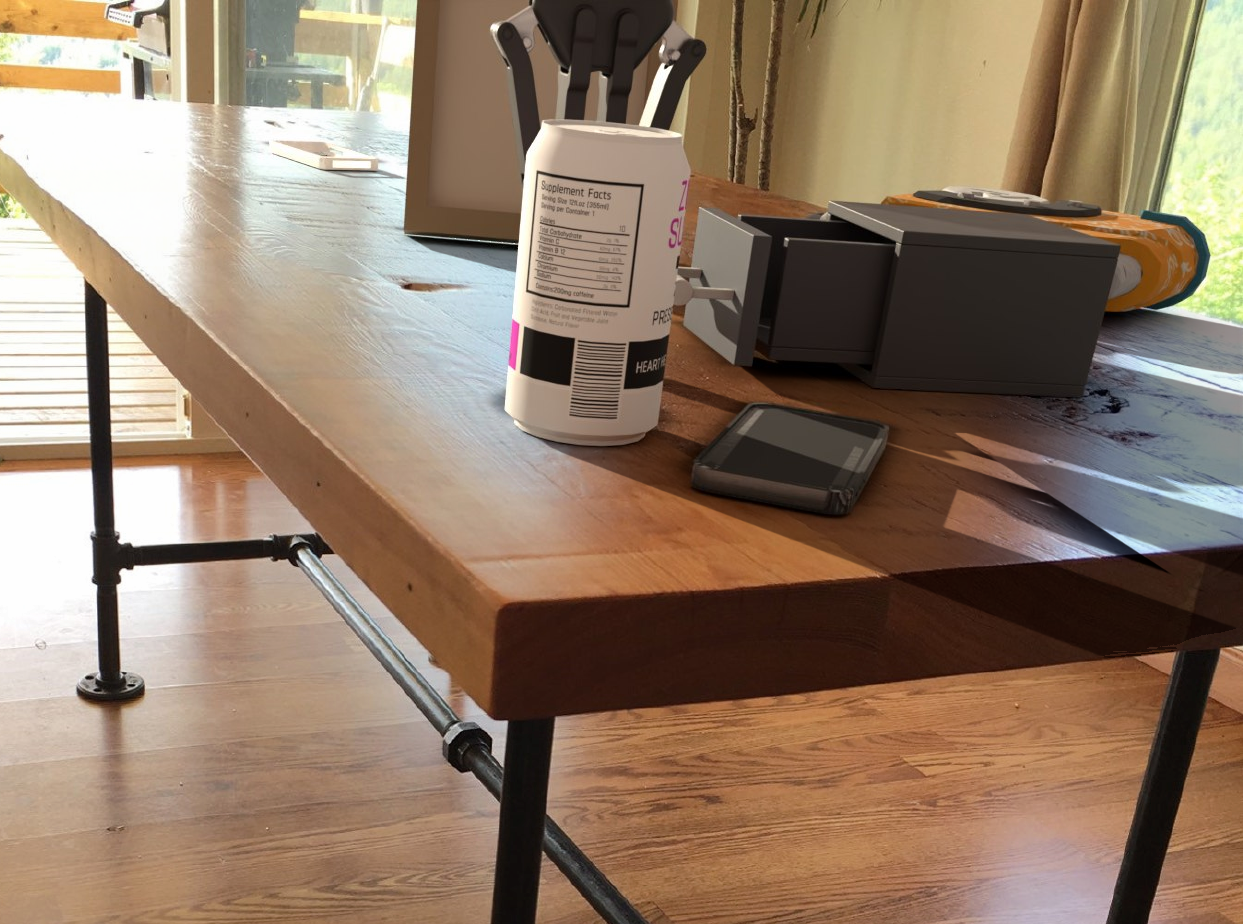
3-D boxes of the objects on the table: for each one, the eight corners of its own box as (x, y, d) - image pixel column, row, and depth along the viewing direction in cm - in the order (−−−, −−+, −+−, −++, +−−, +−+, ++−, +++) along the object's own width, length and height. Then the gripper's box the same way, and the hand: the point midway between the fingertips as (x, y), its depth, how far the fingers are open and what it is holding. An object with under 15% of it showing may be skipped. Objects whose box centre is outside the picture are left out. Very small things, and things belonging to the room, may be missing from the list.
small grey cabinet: (873, 388, 96) (903, 230, 92) (804, 343, 107) (828, 200, 103) (1082, 398, 99) (1122, 245, 94) (994, 352, 110) (1025, 214, 105)
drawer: (667, 362, 93) (684, 230, 90) (622, 322, 103) (636, 202, 100) (935, 375, 97) (962, 248, 93) (866, 335, 107) (888, 219, 103)
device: (1150, 236, 112) (790, 175, 127) (1120, 348, 116) (774, 277, 131) (1228, 217, 129) (901, 166, 144) (1199, 316, 132) (884, 256, 148)
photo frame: (653, 263, 132) (693, -60, 121) (403, 241, 131) (420, -87, 120) (634, 236, 146) (669, -57, 134) (407, 216, 144) (423, -81, 133)
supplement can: (477, 410, 83) (500, 115, 76) (607, 404, 86) (639, 122, 80) (548, 453, 76) (580, 135, 70) (685, 445, 80) (728, 141, 73)
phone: (688, 465, 72) (752, 399, 85) (684, 488, 73) (749, 419, 85) (853, 495, 70) (894, 423, 83) (849, 519, 71) (889, 443, 83)
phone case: (267, 151, 181) (321, 170, 170) (267, 139, 180) (322, 157, 169) (323, 153, 184) (380, 171, 173) (323, 141, 184) (381, 158, 173)
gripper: (703, -91, 91) (653, 310, 101) (489, -114, 88) (460, 300, 99) (743, -94, 84) (685, 335, 95) (512, -119, 82) (479, 325, 92)
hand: (570, 317), depth 97 cm, fingers closed
